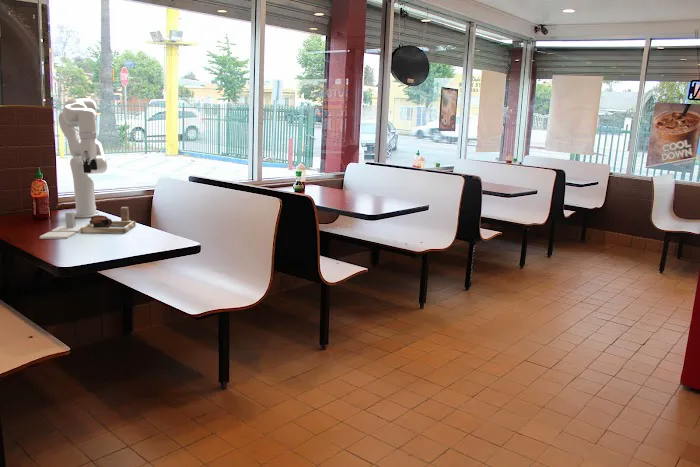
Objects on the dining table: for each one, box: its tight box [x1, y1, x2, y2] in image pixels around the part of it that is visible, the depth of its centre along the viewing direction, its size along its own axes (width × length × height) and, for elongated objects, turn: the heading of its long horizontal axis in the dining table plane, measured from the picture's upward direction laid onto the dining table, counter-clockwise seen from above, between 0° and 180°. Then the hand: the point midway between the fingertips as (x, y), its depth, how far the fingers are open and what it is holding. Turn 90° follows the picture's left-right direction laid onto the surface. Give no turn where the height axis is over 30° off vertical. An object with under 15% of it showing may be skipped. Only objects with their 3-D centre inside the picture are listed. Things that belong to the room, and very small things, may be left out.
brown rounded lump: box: [89, 214, 113, 228], centre depth 282 cm, size 12×10×8 cm
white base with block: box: [39, 211, 83, 240], centre depth 273 cm, size 21×12×8 cm, turn 3°
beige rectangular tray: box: [80, 206, 136, 234], centre depth 286 cm, size 24×20×8 cm
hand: (90, 171), depth 289 cm, fingers open, 9 cm apart
